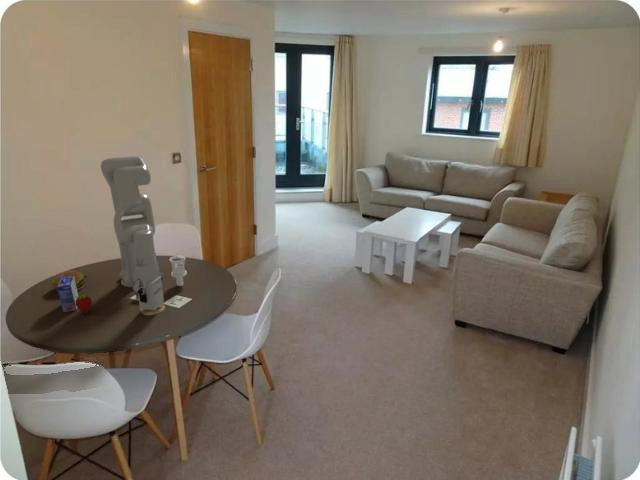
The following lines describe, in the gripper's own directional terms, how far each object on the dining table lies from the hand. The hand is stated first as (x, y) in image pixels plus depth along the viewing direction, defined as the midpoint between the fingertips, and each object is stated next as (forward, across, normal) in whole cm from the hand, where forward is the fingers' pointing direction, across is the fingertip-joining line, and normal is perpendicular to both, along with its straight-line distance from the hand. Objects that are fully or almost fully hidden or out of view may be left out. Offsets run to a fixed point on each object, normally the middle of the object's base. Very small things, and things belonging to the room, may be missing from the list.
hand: (151, 297), depth 185 cm
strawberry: (+6, +14, -23) cm, 27 cm away
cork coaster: (+6, 0, 0) cm, 6 cm away
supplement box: (+4, 0, 0) cm, 4 cm away
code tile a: (+6, -10, +5) cm, 13 cm away
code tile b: (+6, -8, -12) cm, 15 cm away
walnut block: (+6, -8, -12) cm, 15 cm away
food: (+6, 0, -49) cm, 49 cm away
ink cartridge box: (+6, +12, -34) cm, 36 cm away
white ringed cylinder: (+6, -24, -5) cm, 25 cm away
